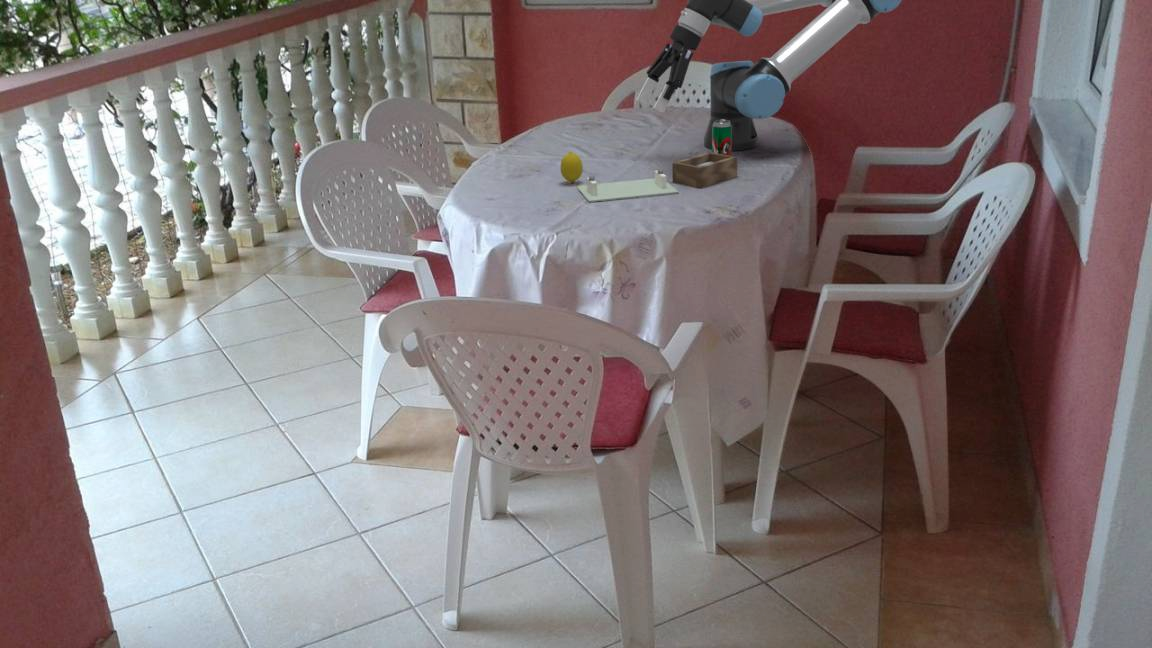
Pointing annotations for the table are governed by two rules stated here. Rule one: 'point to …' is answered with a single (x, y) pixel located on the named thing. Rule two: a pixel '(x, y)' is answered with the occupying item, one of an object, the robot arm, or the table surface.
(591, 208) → the table surface
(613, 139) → the table surface
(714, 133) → the soda can
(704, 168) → the brown wooden open box
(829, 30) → the robot arm
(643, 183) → the wall board
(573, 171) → the lemon
